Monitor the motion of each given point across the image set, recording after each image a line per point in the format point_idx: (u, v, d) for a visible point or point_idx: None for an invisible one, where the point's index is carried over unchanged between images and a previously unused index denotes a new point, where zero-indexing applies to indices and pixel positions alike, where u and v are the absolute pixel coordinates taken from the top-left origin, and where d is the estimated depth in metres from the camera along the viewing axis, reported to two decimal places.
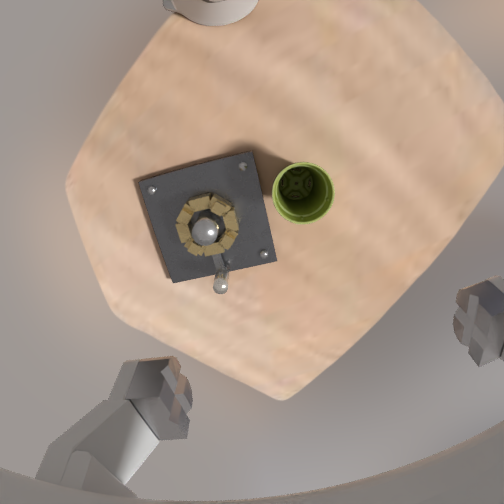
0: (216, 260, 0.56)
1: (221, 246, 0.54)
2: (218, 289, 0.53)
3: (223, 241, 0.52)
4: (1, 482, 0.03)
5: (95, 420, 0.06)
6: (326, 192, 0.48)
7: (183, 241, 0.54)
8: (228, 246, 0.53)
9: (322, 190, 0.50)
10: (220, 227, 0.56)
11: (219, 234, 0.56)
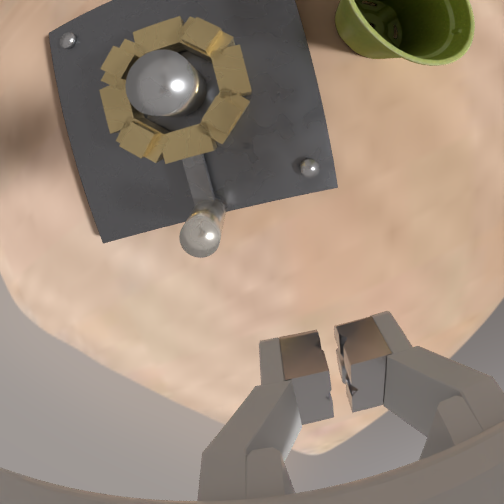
0: (194, 176, 0.22)
1: (206, 135, 0.20)
2: (193, 242, 0.19)
3: (211, 114, 0.18)
4: (1, 482, 0.03)
5: (258, 410, 0.06)
6: (450, 21, 0.14)
7: (114, 128, 0.19)
8: (224, 127, 0.19)
9: (437, 24, 0.15)
10: (206, 102, 0.21)
11: None
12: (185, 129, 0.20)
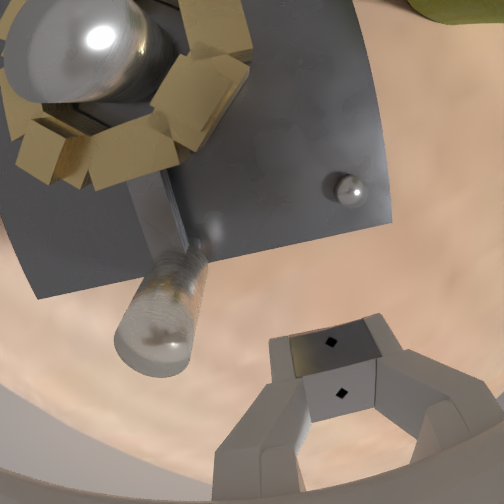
0: (149, 210, 0.12)
1: (164, 134, 0.10)
2: (141, 355, 0.09)
3: (169, 91, 0.08)
4: (1, 482, 0.03)
5: (271, 408, 0.06)
6: None
7: (17, 132, 0.09)
8: (195, 119, 0.09)
9: None
10: None
11: None
12: (126, 125, 0.10)
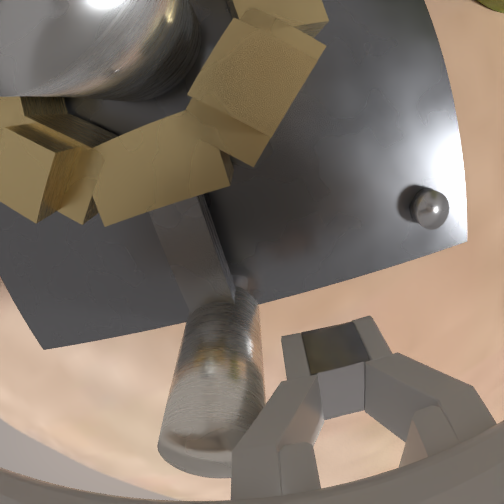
0: (183, 249, 0.09)
1: (206, 142, 0.07)
2: (198, 460, 0.06)
3: (219, 73, 0.05)
4: (1, 482, 0.03)
5: (287, 405, 0.06)
6: None
7: None
8: (263, 117, 0.06)
9: None
10: (203, 63, 0.09)
11: None
12: (146, 129, 0.07)
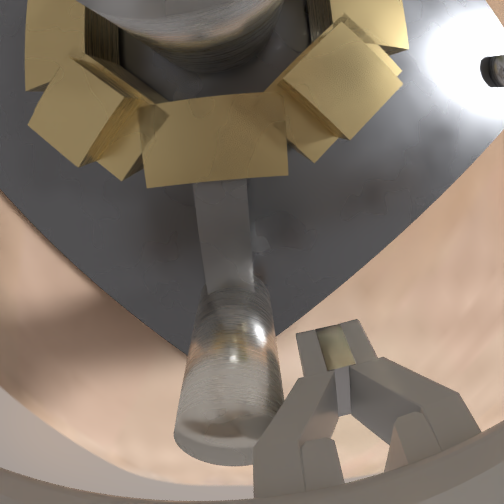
0: (217, 228, 0.09)
1: (276, 128, 0.07)
2: (212, 445, 0.06)
3: (318, 68, 0.05)
4: (1, 482, 0.03)
5: (306, 401, 0.06)
6: None
7: (37, 78, 0.06)
8: (347, 120, 0.06)
9: None
10: (283, 12, 0.08)
11: (299, 46, 0.08)
12: (219, 100, 0.07)
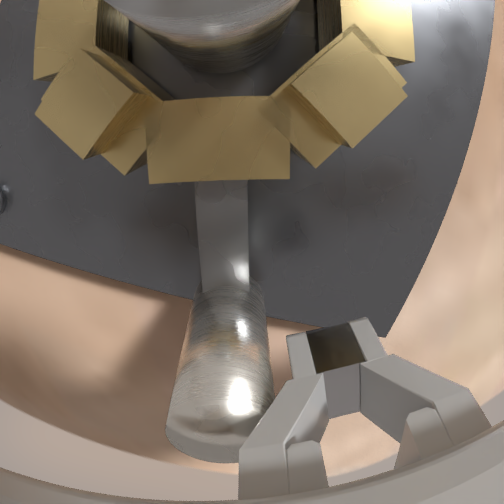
0: (216, 227, 0.09)
1: (280, 132, 0.07)
2: (203, 441, 0.06)
3: (326, 75, 0.06)
4: (1, 482, 0.03)
5: (293, 403, 0.06)
6: None
7: (46, 68, 0.06)
8: (351, 128, 0.06)
9: None
10: None
11: (312, 8, 0.08)
12: (226, 101, 0.07)
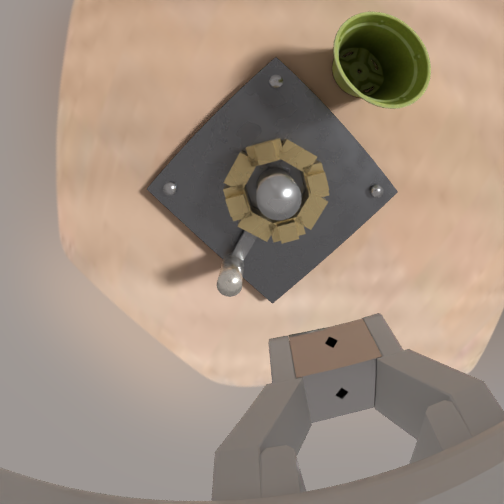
0: (244, 242, 0.34)
1: (270, 231, 0.33)
2: (224, 285, 0.31)
3: (284, 228, 0.31)
4: (1, 482, 0.03)
5: (271, 408, 0.06)
6: (409, 49, 0.23)
7: (228, 182, 0.31)
8: (283, 240, 0.32)
9: (401, 53, 0.25)
10: (296, 185, 0.34)
11: (300, 196, 0.34)
12: (263, 219, 0.32)
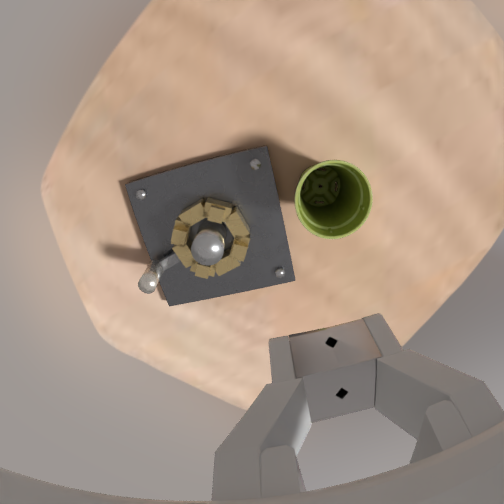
0: (171, 259, 0.44)
1: (191, 263, 0.43)
2: (144, 283, 0.40)
3: (201, 267, 0.42)
4: (1, 482, 0.03)
5: (271, 408, 0.06)
6: (360, 198, 0.38)
7: (181, 217, 0.41)
8: (197, 274, 0.43)
9: (355, 196, 0.39)
10: (226, 240, 0.45)
11: (225, 249, 0.46)
12: (191, 253, 0.43)
